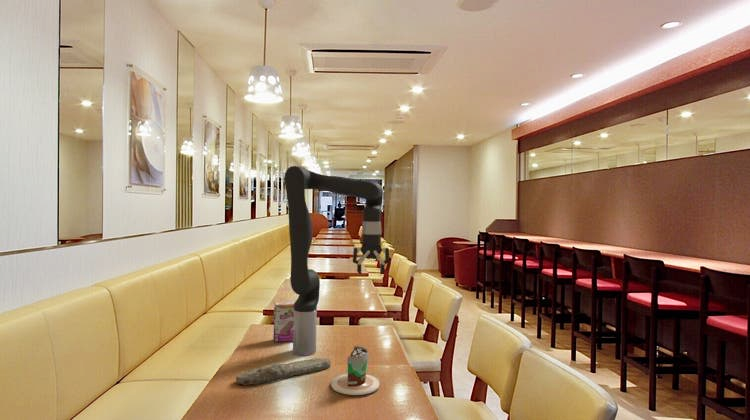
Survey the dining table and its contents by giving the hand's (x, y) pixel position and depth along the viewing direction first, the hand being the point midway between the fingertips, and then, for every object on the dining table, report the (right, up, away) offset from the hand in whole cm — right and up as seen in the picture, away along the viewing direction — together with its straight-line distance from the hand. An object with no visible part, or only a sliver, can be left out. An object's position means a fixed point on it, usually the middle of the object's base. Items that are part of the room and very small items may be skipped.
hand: (370, 274), depth 175 cm
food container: (-3, -32, -27) cm, 42 cm away
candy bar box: (-37, -32, +20) cm, 53 cm away
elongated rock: (-30, -33, -18) cm, 48 cm away
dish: (-5, -33, -28) cm, 44 cm away
